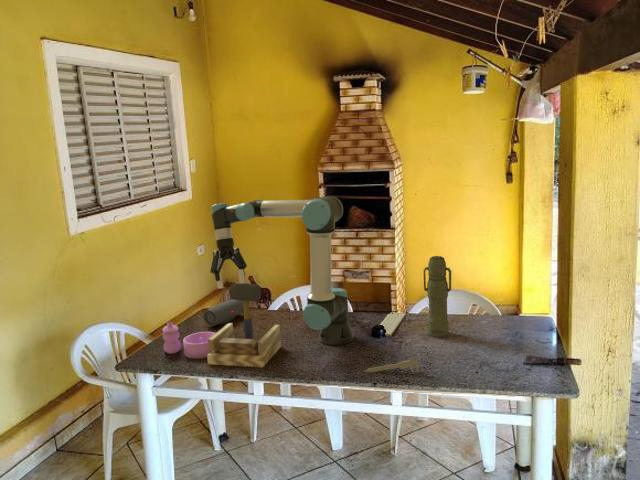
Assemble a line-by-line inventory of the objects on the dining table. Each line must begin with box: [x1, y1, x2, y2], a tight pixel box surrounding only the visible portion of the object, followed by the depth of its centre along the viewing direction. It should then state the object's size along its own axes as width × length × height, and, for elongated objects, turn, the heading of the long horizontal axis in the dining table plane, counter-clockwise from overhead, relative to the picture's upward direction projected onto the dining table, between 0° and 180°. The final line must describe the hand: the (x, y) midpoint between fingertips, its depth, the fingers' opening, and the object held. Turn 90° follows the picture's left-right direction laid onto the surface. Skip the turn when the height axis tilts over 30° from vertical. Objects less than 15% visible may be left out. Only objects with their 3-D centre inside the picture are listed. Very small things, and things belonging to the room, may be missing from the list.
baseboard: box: [379, 309, 407, 337], centre depth 262 cm, size 30×3×10 cm
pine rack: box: [206, 322, 282, 368], centre depth 234 cm, size 24×22×10 cm
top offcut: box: [218, 337, 260, 351], centre depth 229 cm, size 16×5×3 cm, turn 74°
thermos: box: [423, 255, 452, 339], centre depth 242 cm, size 9×12×35 cm
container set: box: [162, 321, 216, 359], centre depth 242 cm, size 25×15×13 cm, turn 81°
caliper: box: [364, 356, 420, 374], centre depth 209 cm, size 20×1×6 cm, turn 81°
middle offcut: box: [219, 348, 259, 356], centre depth 229 cm, size 16×5×3 cm, turn 74°
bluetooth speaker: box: [203, 298, 244, 327], centre depth 280 cm, size 23×9×10 cm, turn 148°
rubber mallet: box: [228, 282, 262, 339], centre depth 237 cm, size 12×8×30 cm, turn 70°
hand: (232, 286), depth 245 cm, fingers open, 13 cm apart
